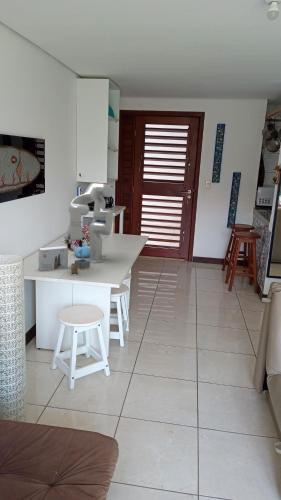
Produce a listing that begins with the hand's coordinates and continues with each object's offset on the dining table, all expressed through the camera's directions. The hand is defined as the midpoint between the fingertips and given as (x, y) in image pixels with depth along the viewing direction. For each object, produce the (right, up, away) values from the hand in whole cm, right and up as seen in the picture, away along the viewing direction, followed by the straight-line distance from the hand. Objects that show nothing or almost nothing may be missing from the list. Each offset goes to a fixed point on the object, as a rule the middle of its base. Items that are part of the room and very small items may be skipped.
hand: (74, 247), depth 264 cm
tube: (+2, -15, +19) cm, 25 cm away
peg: (-1, -18, +5) cm, 19 cm away
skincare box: (-18, -16, +13) cm, 27 cm away
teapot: (-2, -7, +52) cm, 52 cm away
